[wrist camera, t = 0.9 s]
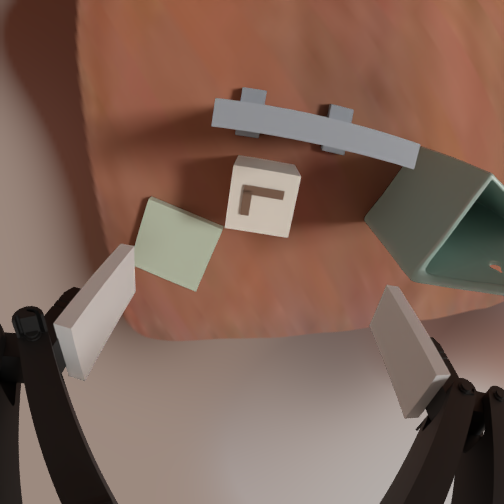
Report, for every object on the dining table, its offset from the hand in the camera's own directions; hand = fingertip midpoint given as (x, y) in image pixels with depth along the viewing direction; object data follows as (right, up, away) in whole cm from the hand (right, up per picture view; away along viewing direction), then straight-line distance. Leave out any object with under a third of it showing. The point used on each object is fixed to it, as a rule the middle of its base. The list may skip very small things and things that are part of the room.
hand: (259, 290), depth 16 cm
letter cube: (+1, +9, +18) cm, 20 cm away
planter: (+20, +10, +17) cm, 28 cm away
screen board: (+4, +15, +15) cm, 22 cm away
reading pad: (-10, +3, +21) cm, 23 cm away
